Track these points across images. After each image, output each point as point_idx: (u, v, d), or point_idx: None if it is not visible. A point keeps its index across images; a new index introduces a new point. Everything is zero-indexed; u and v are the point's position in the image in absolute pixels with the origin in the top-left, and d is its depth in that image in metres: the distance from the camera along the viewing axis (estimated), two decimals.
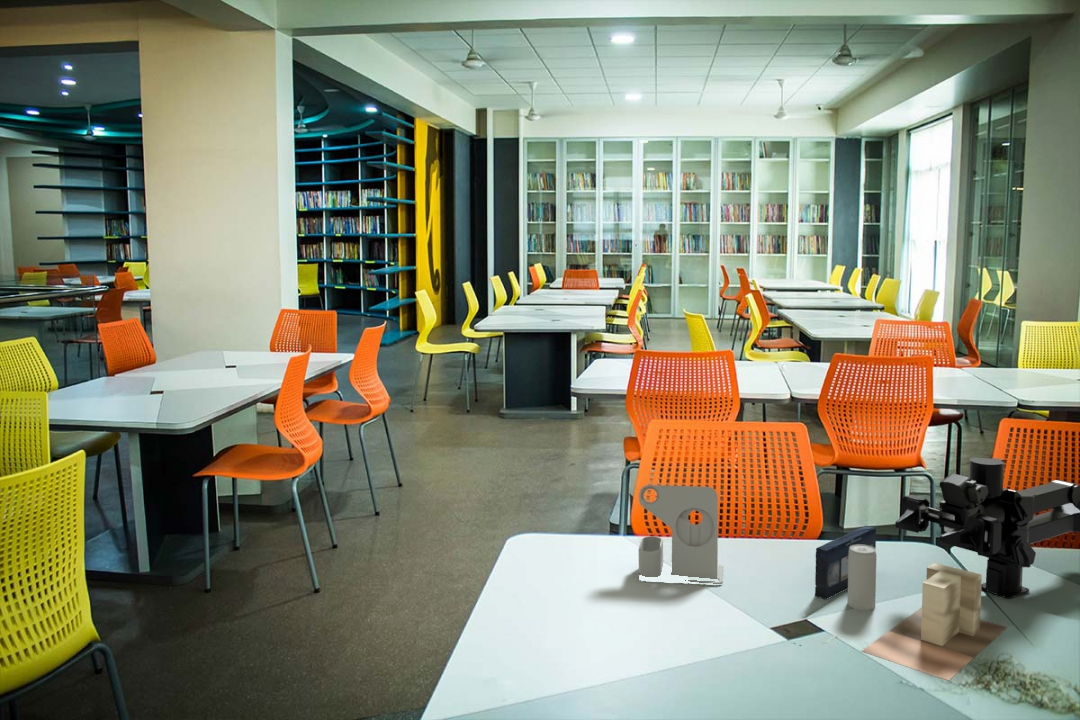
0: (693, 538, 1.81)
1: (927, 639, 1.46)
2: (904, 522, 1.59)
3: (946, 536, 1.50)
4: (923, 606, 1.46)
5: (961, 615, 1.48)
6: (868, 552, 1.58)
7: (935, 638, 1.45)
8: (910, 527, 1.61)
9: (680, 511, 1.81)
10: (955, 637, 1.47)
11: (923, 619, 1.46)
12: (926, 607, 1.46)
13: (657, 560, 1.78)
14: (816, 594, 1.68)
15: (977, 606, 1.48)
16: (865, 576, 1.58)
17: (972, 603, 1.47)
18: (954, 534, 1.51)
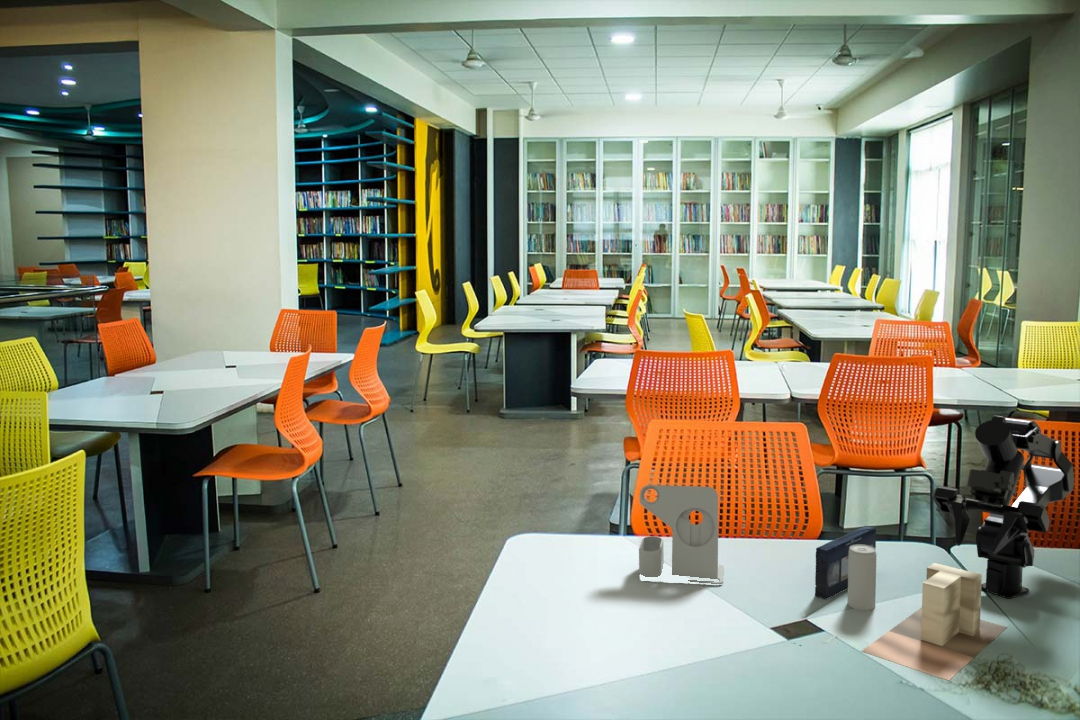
0: (693, 538, 1.81)
1: (927, 639, 1.46)
2: (961, 534, 1.59)
3: (997, 547, 1.54)
4: (923, 606, 1.46)
5: (961, 615, 1.48)
6: (868, 552, 1.58)
7: (935, 638, 1.45)
8: (965, 528, 1.61)
9: (681, 511, 1.81)
10: (955, 637, 1.47)
11: (923, 619, 1.46)
12: (926, 607, 1.46)
13: (657, 560, 1.78)
14: (816, 594, 1.68)
15: (977, 606, 1.48)
16: (865, 576, 1.58)
17: (972, 603, 1.47)
18: (1002, 540, 1.54)
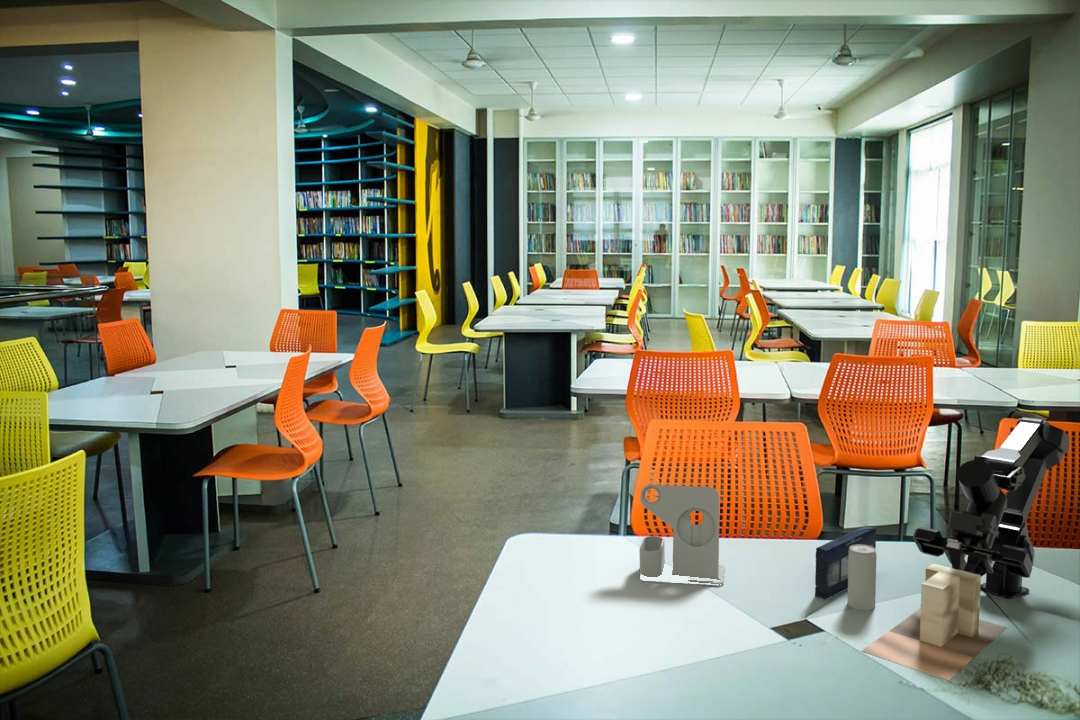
0: (694, 538, 1.81)
1: (926, 640, 1.46)
2: None
3: None
4: (922, 607, 1.46)
5: (960, 616, 1.48)
6: (868, 552, 1.58)
7: (934, 638, 1.45)
8: None
9: (682, 511, 1.81)
10: (955, 637, 1.47)
11: (921, 620, 1.46)
12: (925, 608, 1.45)
13: (658, 560, 1.78)
14: (816, 594, 1.68)
15: (976, 607, 1.48)
16: (865, 576, 1.58)
17: (971, 603, 1.47)
18: None
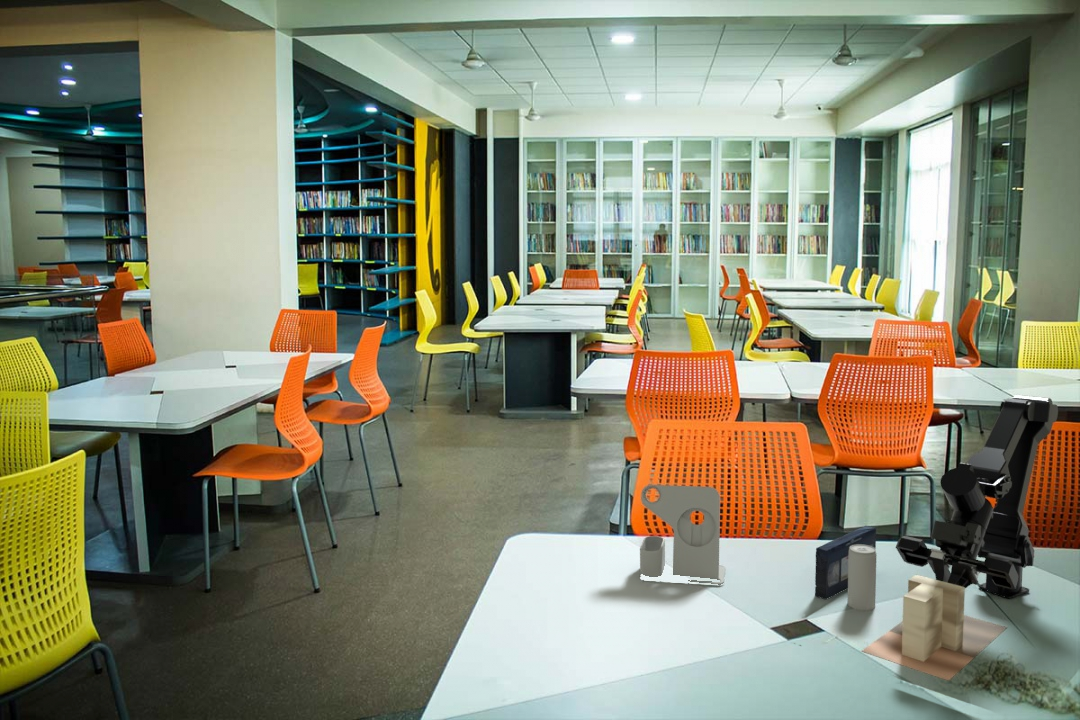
0: (695, 538, 1.81)
1: (908, 654, 1.41)
2: None
3: None
4: (904, 620, 1.41)
5: (944, 629, 1.43)
6: (868, 552, 1.58)
7: (916, 653, 1.40)
8: None
9: (682, 511, 1.81)
10: None
11: (903, 633, 1.41)
12: (907, 621, 1.41)
13: (658, 560, 1.78)
14: (816, 594, 1.68)
15: (960, 620, 1.43)
16: (865, 576, 1.58)
17: (955, 616, 1.42)
18: None
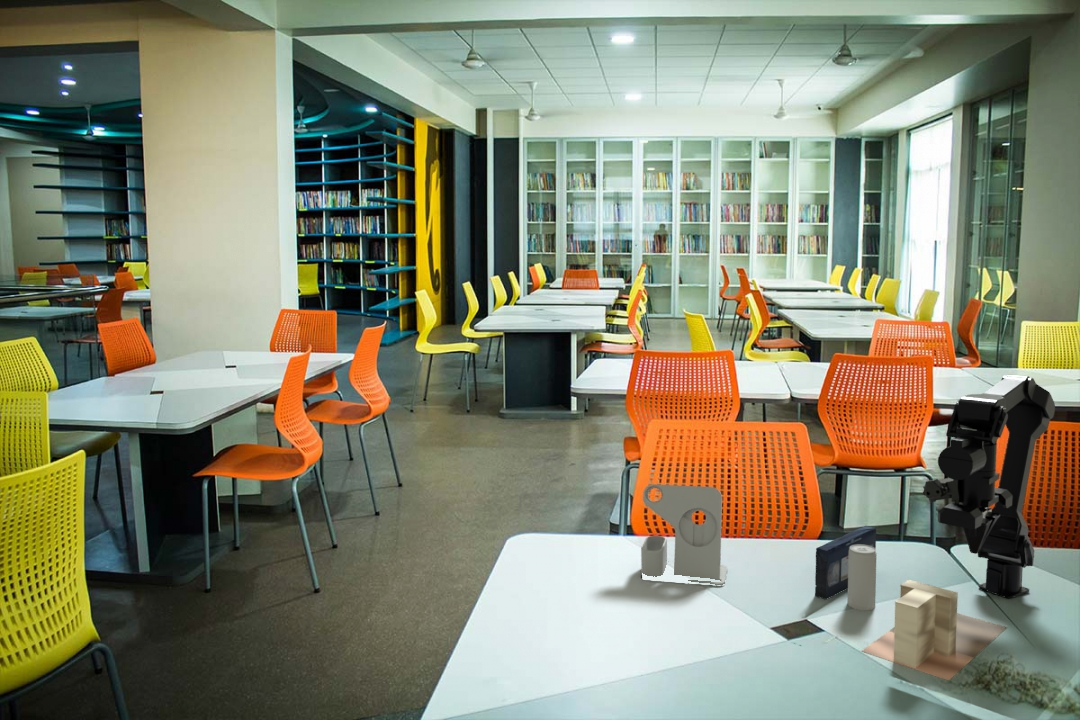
0: (696, 538, 1.81)
1: (900, 661, 1.39)
2: None
3: (970, 548, 1.56)
4: (896, 626, 1.39)
5: (936, 635, 1.42)
6: (868, 552, 1.58)
7: (908, 659, 1.38)
8: None
9: (684, 511, 1.81)
10: None
11: (895, 639, 1.39)
12: (899, 627, 1.39)
13: (659, 559, 1.78)
14: (816, 594, 1.68)
15: (953, 626, 1.41)
16: (865, 576, 1.58)
17: (947, 622, 1.40)
18: (968, 540, 1.55)
